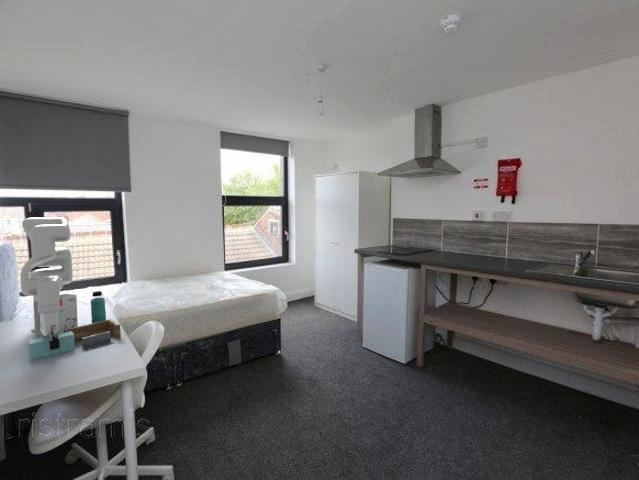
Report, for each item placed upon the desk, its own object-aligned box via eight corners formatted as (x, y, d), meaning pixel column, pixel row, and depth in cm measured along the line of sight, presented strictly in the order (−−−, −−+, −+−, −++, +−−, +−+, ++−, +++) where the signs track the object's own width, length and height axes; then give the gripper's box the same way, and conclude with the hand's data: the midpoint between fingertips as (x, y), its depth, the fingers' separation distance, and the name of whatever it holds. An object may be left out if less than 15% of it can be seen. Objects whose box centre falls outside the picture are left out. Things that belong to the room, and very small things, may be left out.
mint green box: (29, 356, 138) (28, 340, 138) (72, 345, 149) (71, 331, 148) (30, 360, 134) (29, 344, 134) (74, 349, 145) (74, 334, 145)
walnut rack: (67, 343, 151) (67, 329, 150) (111, 332, 165) (110, 319, 164) (75, 350, 143) (75, 335, 143) (120, 338, 157) (120, 324, 156)
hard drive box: (48, 344, 150) (45, 302, 148) (34, 342, 152) (31, 301, 150) (79, 332, 165) (76, 294, 164) (66, 331, 167) (64, 293, 165)
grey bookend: (82, 347, 147) (82, 337, 146) (109, 340, 155) (109, 331, 155) (86, 350, 143) (85, 341, 143) (114, 343, 152) (113, 333, 151)
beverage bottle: (109, 327, 172) (107, 290, 171) (97, 331, 166) (95, 293, 164) (100, 325, 174) (99, 289, 173) (88, 330, 168) (86, 292, 166)
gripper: (33, 306, 142) (36, 343, 144) (42, 314, 131) (45, 354, 133) (55, 302, 148) (57, 338, 150) (65, 309, 137) (68, 348, 139)
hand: (52, 346), depth 141 cm, fingers open, 9 cm apart
